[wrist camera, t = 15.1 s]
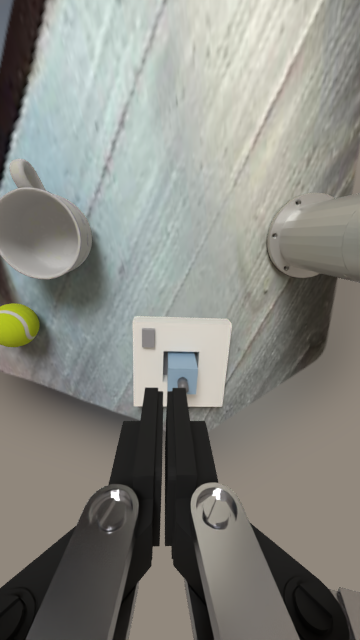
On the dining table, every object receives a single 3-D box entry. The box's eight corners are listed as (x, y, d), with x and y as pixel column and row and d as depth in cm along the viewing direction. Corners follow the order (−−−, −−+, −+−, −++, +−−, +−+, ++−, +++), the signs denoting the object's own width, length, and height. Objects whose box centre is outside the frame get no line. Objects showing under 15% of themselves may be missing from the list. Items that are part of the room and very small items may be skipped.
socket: (227, 318, 43) (233, 326, 40) (218, 396, 48) (222, 409, 45) (135, 316, 42) (132, 323, 39) (135, 396, 47) (133, 409, 44)
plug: (193, 349, 44) (199, 376, 36) (191, 371, 46) (197, 402, 37) (168, 348, 44) (168, 375, 35) (167, 371, 45) (167, 402, 37)
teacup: (100, 272, 40) (84, 281, 32) (29, 270, 39) (-3, 279, 31) (93, 173, 35) (73, 156, 28) (13, 169, 35) (-29, 151, 27)
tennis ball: (2, 297, 40) (-29, 308, 34) (45, 300, 41) (23, 312, 34) (7, 336, 42) (-21, 353, 36) (48, 338, 43) (28, 355, 36)
